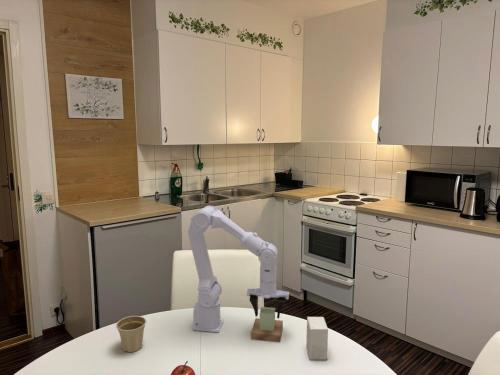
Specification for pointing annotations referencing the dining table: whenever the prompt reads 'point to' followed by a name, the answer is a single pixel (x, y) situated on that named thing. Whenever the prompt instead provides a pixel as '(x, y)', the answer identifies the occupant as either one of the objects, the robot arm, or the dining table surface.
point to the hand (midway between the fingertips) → (267, 316)
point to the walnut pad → (267, 332)
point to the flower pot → (131, 332)
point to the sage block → (267, 319)
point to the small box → (317, 338)
